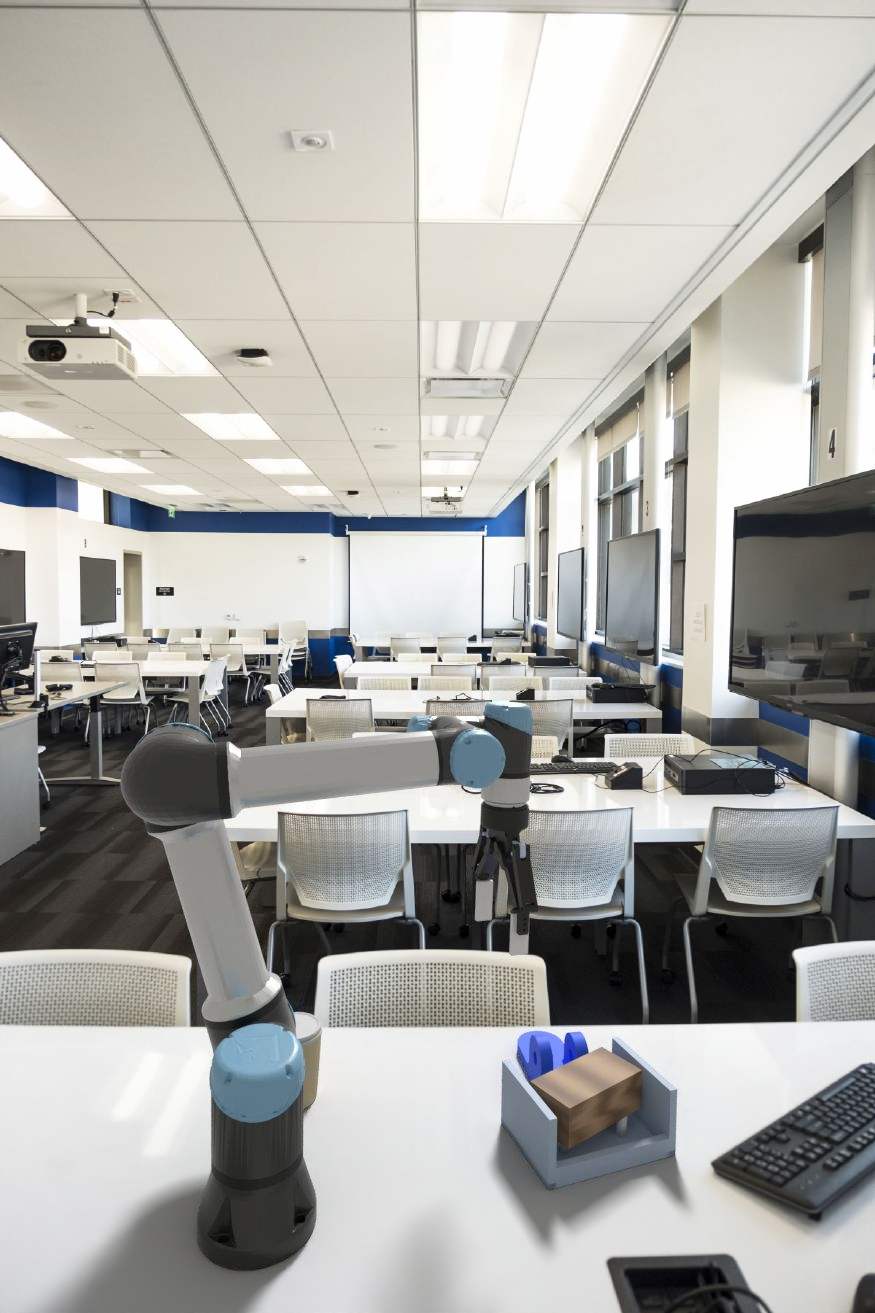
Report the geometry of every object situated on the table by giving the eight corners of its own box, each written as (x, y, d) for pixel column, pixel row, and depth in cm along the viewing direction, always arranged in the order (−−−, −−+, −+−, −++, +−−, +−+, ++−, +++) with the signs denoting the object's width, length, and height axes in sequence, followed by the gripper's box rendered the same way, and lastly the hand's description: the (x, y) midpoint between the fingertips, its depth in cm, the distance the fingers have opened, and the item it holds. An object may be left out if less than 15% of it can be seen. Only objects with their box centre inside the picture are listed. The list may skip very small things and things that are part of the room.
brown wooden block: (601, 1083, 126) (601, 1046, 125) (641, 1108, 119) (642, 1070, 119) (529, 1120, 116) (530, 1081, 116) (568, 1149, 110) (569, 1108, 109)
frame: (548, 1190, 107) (549, 1120, 106) (501, 1123, 121) (502, 1060, 121) (675, 1155, 114) (677, 1089, 114) (616, 1095, 129) (618, 1036, 128)
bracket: (588, 1098, 128) (590, 1045, 128) (540, 1103, 127) (541, 1049, 126) (555, 1040, 146) (556, 993, 145) (512, 1043, 144) (513, 996, 144)
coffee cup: (327, 1082, 131) (328, 1012, 131) (313, 1117, 122) (314, 1042, 121) (274, 1078, 132) (274, 1009, 132) (256, 1112, 123) (256, 1039, 122)
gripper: (565, 820, 110) (559, 967, 111) (495, 784, 133) (490, 905, 134) (517, 823, 107) (511, 973, 108) (454, 785, 131) (450, 909, 132)
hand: (500, 936), depth 121 cm, fingers open, 13 cm apart
